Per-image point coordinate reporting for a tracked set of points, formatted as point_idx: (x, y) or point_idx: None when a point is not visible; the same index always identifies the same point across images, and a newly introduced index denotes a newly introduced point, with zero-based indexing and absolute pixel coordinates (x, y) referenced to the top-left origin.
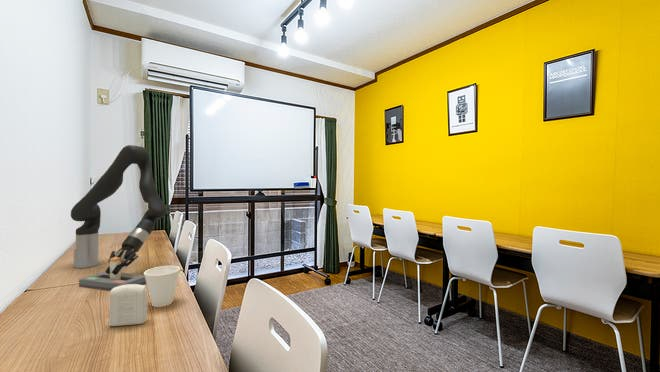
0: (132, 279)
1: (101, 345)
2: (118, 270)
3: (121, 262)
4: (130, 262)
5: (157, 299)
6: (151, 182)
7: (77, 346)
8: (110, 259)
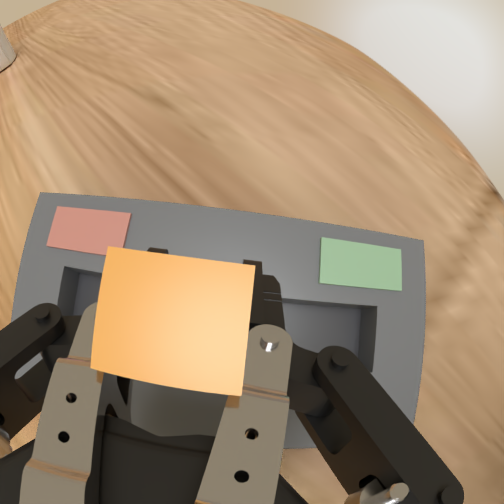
0: (39, 295)
1: (14, 34)
2: None
3: (81, 327)
4: (21, 376)
5: None
6: None
7: (43, 19)
8: (229, 265)
